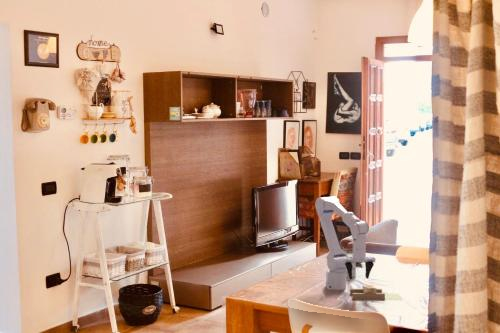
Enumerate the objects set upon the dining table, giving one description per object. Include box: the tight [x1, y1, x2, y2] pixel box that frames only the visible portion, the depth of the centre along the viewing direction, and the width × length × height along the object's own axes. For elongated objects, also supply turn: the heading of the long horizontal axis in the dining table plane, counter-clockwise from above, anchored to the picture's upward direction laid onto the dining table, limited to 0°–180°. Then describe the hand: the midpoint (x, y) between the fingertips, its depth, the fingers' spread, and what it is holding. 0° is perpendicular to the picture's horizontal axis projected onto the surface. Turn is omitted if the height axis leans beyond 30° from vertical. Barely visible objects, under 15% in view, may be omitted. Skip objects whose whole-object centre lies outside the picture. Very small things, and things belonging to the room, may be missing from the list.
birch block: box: [362, 284, 377, 293], centre depth 271 cm, size 5×5×4 cm
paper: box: [340, 245, 363, 264], centre depth 340 cm, size 25×16×8 cm, turn 43°
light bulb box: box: [346, 254, 357, 278], centre depth 309 cm, size 11×7×11 cm, turn 92°
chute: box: [349, 288, 404, 301], centre depth 271 cm, size 22×9×3 cm, turn 89°
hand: (358, 278), depth 272 cm, fingers open, 7 cm apart
